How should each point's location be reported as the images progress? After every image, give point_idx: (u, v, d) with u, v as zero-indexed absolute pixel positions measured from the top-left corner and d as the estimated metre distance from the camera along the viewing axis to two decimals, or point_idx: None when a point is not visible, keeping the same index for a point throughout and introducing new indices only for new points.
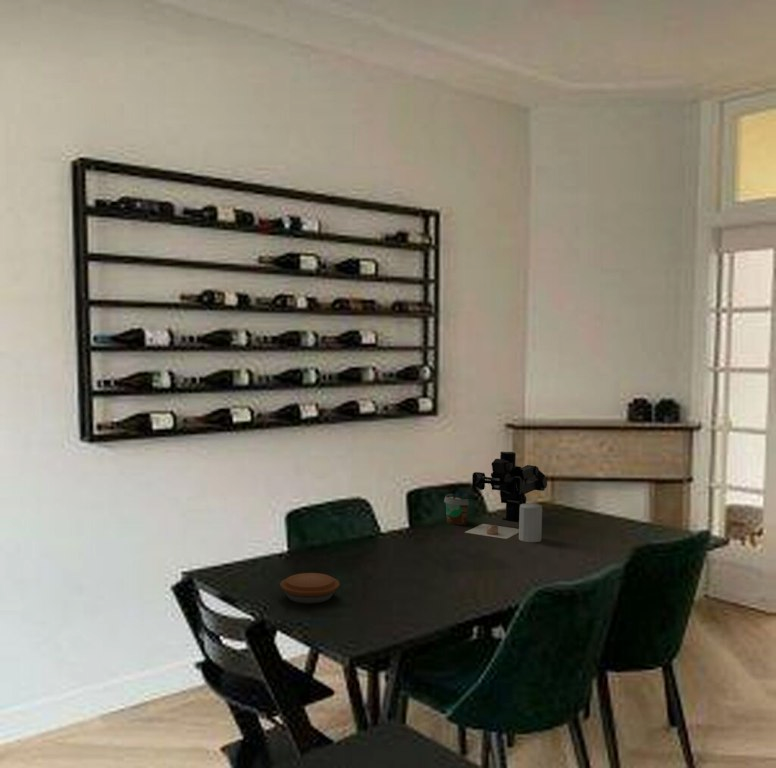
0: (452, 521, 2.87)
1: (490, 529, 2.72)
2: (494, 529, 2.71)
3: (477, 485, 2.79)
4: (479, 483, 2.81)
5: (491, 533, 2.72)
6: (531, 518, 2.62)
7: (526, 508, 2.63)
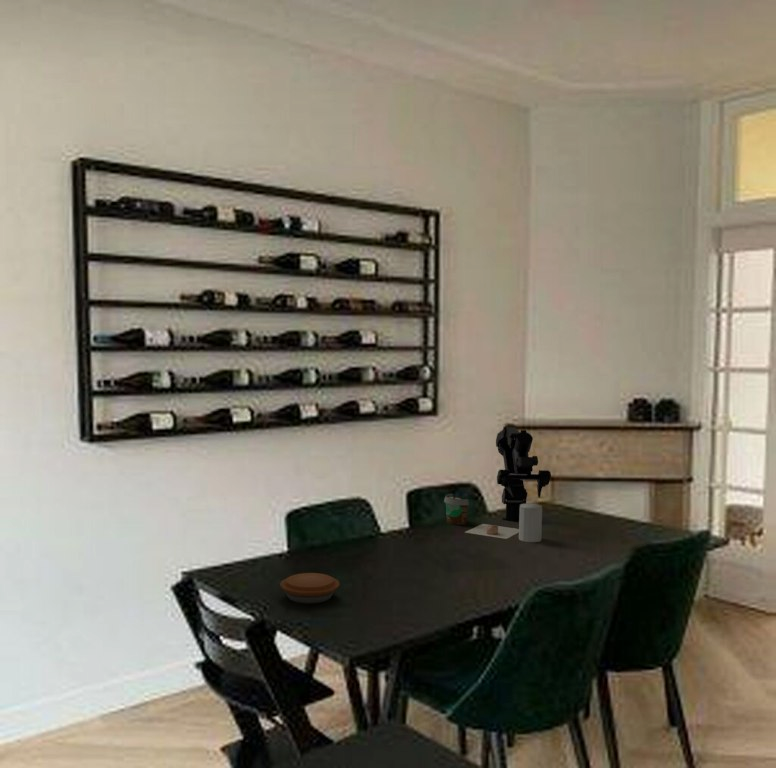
0: (452, 521, 2.87)
1: (490, 529, 2.72)
2: (494, 529, 2.71)
3: None
4: None
5: (491, 533, 2.72)
6: (531, 518, 2.62)
7: (526, 508, 2.63)
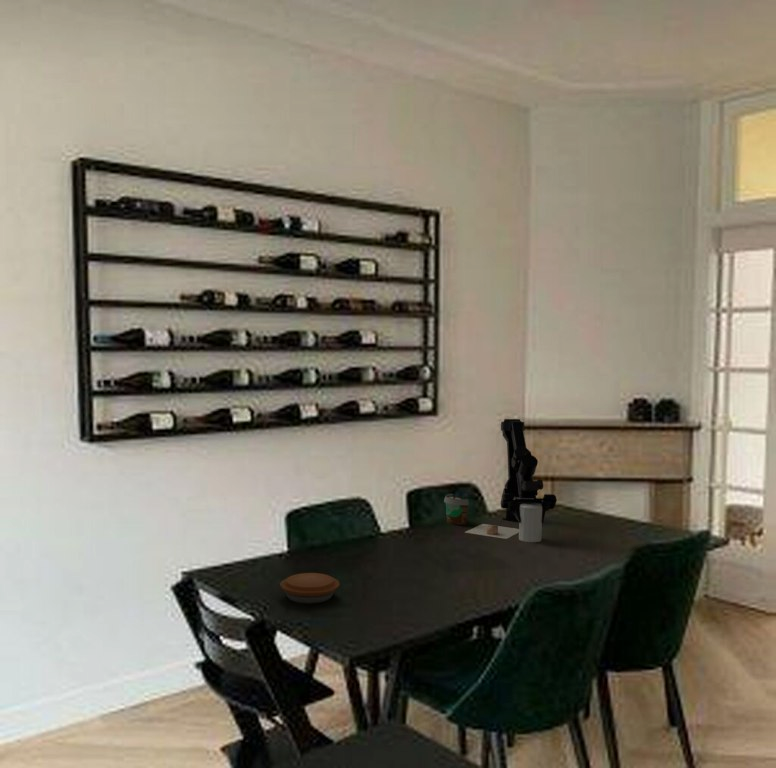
0: (452, 521, 2.87)
1: (490, 529, 2.72)
2: (494, 529, 2.71)
3: None
4: None
5: (491, 533, 2.72)
6: (531, 518, 2.62)
7: (526, 508, 2.63)
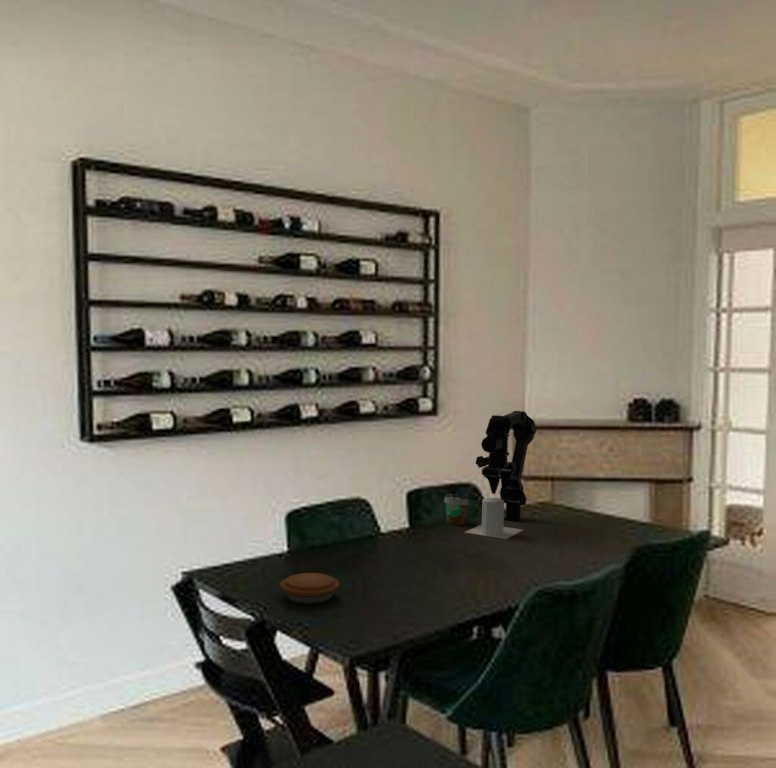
0: (452, 521, 2.87)
1: None
2: None
3: (504, 487, 2.88)
4: (503, 480, 2.89)
5: None
6: (488, 511, 2.70)
7: (484, 501, 2.71)
